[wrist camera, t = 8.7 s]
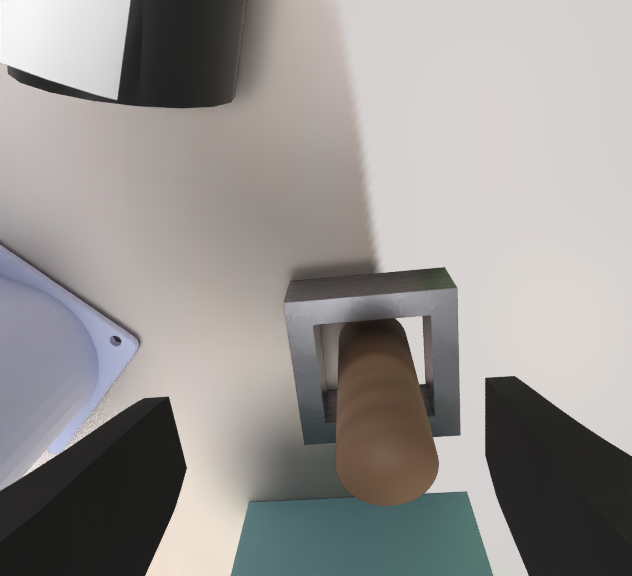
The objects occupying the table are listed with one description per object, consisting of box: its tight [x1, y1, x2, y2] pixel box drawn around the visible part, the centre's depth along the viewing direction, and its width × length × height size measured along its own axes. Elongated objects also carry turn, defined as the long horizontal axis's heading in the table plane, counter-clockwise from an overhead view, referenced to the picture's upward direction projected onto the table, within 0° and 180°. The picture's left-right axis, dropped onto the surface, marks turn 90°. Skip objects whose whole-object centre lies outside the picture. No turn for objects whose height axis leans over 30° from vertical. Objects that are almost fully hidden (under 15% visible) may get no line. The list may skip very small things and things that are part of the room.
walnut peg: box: [335, 318, 439, 506], centre depth 18 cm, size 3×3×8 cm
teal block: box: [231, 492, 493, 576], centre depth 19 cm, size 11×5×11 cm, turn 97°
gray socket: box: [283, 267, 460, 445], centre depth 21 cm, size 6×6×2 cm
